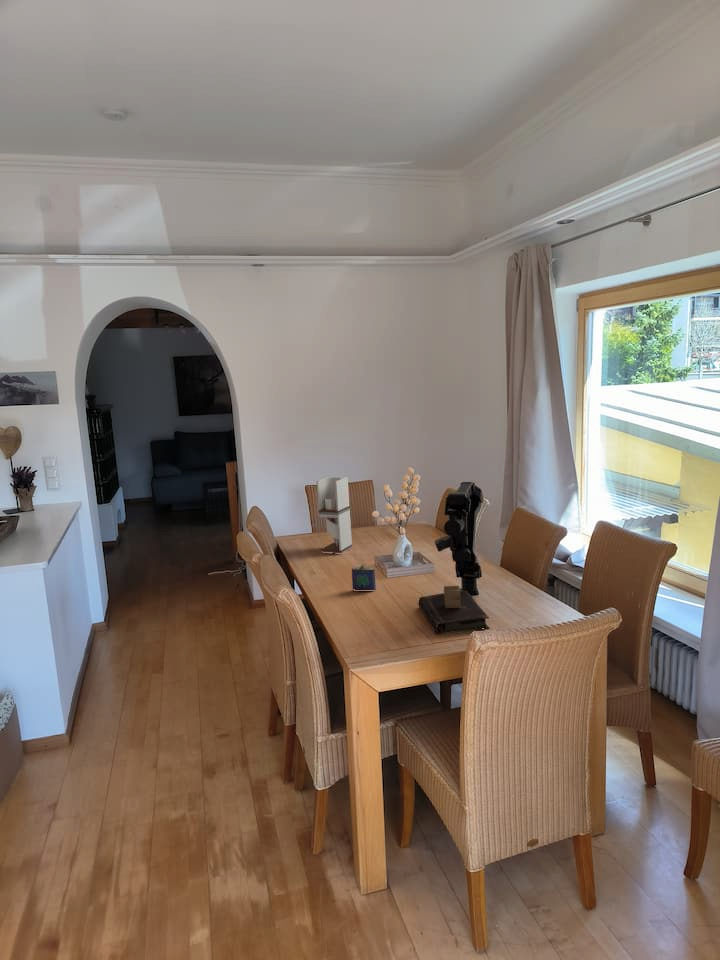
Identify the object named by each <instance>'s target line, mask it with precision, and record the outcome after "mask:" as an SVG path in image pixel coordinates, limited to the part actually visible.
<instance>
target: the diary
mask: <svg viewBox="0 0 720 960" xmlns="http://www.w3.org/2000/svg"><path fill="white" fill-rule="evenodd" d="M460 598H461V608H446V607H445V603H444V592H443V593H436V594H431V595H426V596H420V597H419V599H418V600H417V601H418V606H419V608H420V609H422V610H421V611H422V613H423V612H424V613H423V614H424V616H425V618H426V619H428V620H427V622H428V623H429V624H430V626H431V627H432V629H433V632H434V633H435V635H436V634H437V635H439V632H438V629H439V631H440V632H441V633H442V634H443V633H444V632H445V633H446V632H447V633H455V632H464V631H465V632H466V631H472V630H476V631H484V630H488V629H490V626H488V625H487V623H486V621H487V620H486V619H490V617H489V616H488V615H487V613H486V612H485V611H484V610H483V609H482V608H481V607H480V606H479V604H478V603H477V602H476V600H475V599H474V598H473V596H472V595H470V594H469V593H468V592H467V591H460ZM482 628H484V629H482ZM437 635H436V636H437Z"/></svg>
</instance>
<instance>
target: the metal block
mask: <svg viewBox="0 0 720 960" xmlns="http://www.w3.org/2000/svg"><path fill="white" fill-rule="evenodd" d="M460 588H461V587H460V586H459V585H444V586H443V593H444V603H445V607H446V608H461V598H460Z"/></svg>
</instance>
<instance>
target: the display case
mask: <svg viewBox="0 0 720 960" xmlns="http://www.w3.org/2000/svg"><path fill="white" fill-rule="evenodd" d="M348 479H349V478H348V477H347V476H346V477H345V476H343V477H342V476H338V477H337V476H327V477H324V478H322V479H318V480H316V493H317V495H316V496H317V507H318V517H319V518H325V522H326V523H325V524H326V525H325V526H326V533H327V534H328V535H329V536H331V537H332V538H333V542H332V543H330V544H328V545H326V546H325V547H323V548H321V552H322V551H323V552H333V553H343V552H344V551H346V550H348V549H350V548H351V547H352V548H353V539H352V536H353V535H352V525H351V523H352V521H351V513H350V512H351V509H350V494H349V493H350V492H349V480H348ZM350 550H351V549H350Z"/></svg>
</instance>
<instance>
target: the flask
mask: <svg viewBox="0 0 720 960" xmlns="http://www.w3.org/2000/svg"><path fill="white" fill-rule="evenodd" d="M365 566H366V564H365V563H362V564H360V566H355V567H352V568H351V581H352V583H351V584H352V590H353V589H355V590H377V585H376V569H375V567H365Z"/></svg>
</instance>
